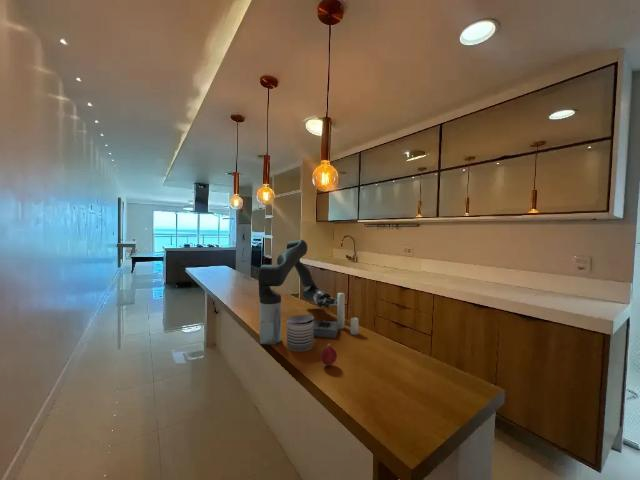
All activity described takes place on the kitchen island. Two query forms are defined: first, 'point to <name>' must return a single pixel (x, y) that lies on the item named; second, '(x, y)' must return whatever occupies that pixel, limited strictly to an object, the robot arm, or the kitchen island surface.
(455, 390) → the kitchen island surface
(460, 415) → the kitchen island surface
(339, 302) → the long pin
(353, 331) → the short pin
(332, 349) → the onion
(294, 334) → the can
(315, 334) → the hole plate
